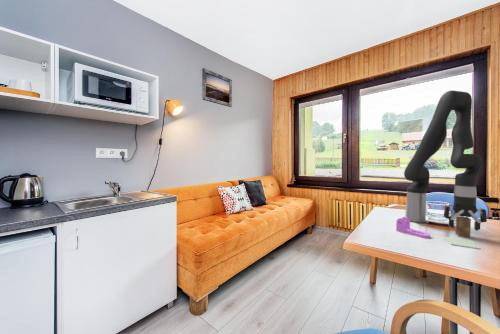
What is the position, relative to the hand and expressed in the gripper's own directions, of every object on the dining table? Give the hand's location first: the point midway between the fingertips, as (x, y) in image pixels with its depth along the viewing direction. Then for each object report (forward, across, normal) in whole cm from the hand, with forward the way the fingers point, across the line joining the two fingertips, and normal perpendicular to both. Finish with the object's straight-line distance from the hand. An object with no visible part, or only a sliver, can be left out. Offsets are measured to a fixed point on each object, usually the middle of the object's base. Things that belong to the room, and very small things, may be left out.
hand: (464, 228), depth 100 cm
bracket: (+4, -20, -8) cm, 22 cm away
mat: (+4, -4, -12) cm, 13 cm away
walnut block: (+4, 0, 0) cm, 4 cm away
